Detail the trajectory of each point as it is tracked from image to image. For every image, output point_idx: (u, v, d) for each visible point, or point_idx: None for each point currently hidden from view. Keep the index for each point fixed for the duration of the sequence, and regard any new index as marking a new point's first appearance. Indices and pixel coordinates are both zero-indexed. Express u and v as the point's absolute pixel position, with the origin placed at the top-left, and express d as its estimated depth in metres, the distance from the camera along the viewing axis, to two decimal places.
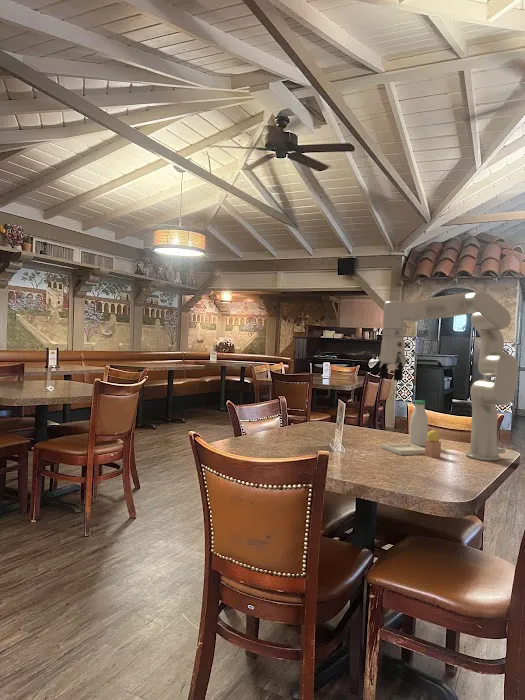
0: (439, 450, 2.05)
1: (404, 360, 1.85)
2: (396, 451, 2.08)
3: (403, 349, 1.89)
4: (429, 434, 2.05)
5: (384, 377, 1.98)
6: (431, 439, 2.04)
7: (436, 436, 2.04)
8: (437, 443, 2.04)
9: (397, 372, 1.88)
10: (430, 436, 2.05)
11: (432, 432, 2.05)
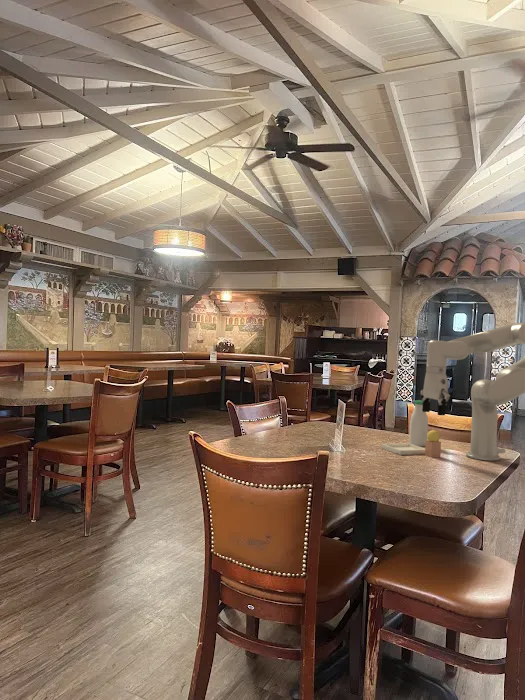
0: (439, 450, 2.05)
1: (448, 397, 1.98)
2: (396, 451, 2.08)
3: (446, 386, 2.02)
4: (429, 434, 2.05)
5: (426, 411, 2.11)
6: (431, 439, 2.04)
7: (436, 436, 2.04)
8: (437, 443, 2.04)
9: (441, 408, 2.01)
10: (430, 436, 2.05)
11: (432, 432, 2.05)
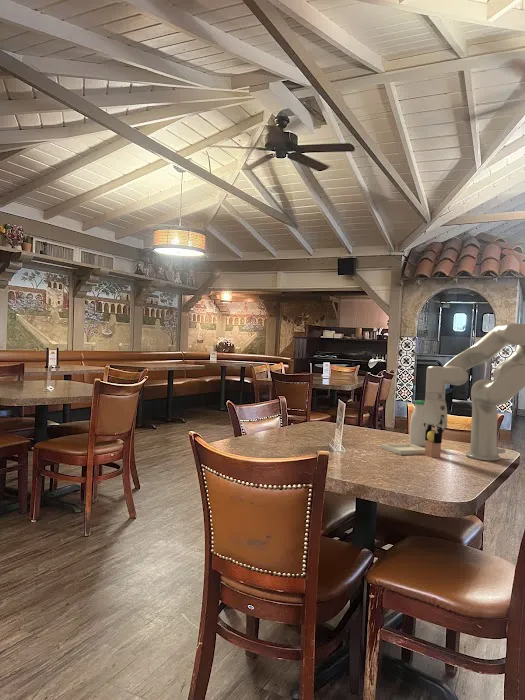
0: (439, 450, 2.05)
1: (445, 427, 2.00)
2: (396, 451, 2.08)
3: (446, 412, 2.02)
4: (429, 434, 2.05)
5: None
6: (431, 439, 2.04)
7: None
8: (437, 443, 2.04)
9: (437, 436, 2.03)
10: (430, 436, 2.05)
11: (432, 432, 2.05)
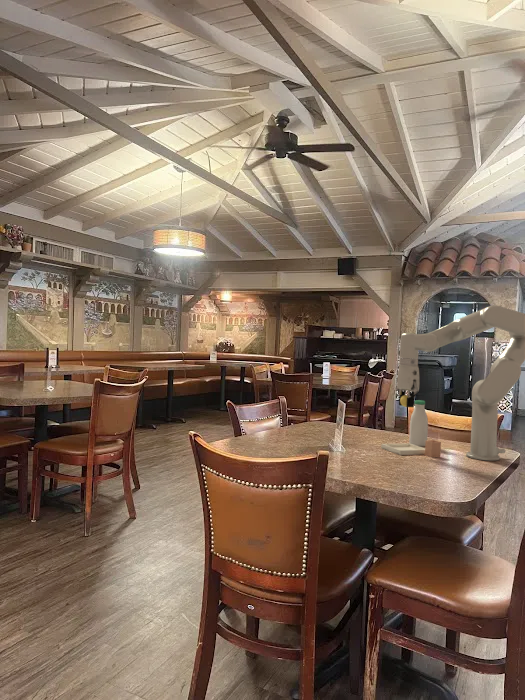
0: (439, 450, 2.05)
1: (416, 391, 2.08)
2: (396, 451, 2.08)
3: (418, 377, 2.10)
4: (402, 398, 2.13)
5: None
6: (404, 403, 2.13)
7: None
8: (437, 443, 2.04)
9: (409, 400, 2.11)
10: (403, 400, 2.13)
11: (405, 396, 2.13)
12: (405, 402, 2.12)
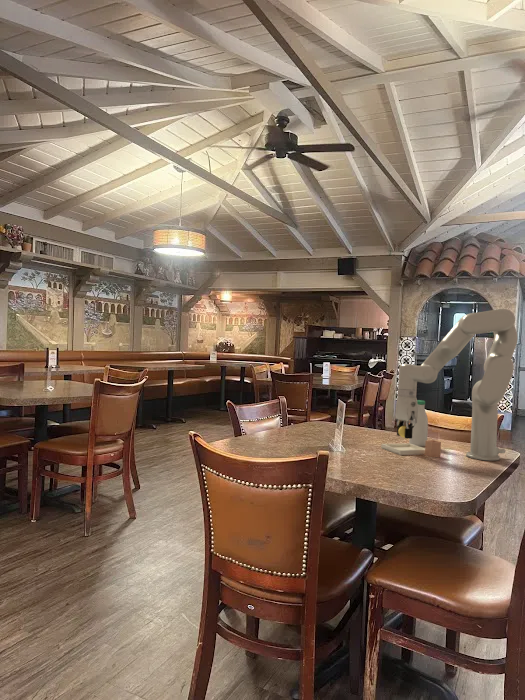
0: (439, 450, 2.05)
1: (415, 423, 2.08)
2: (396, 451, 2.08)
3: (416, 408, 2.10)
4: (400, 429, 2.13)
5: None
6: (402, 434, 2.13)
7: None
8: (437, 443, 2.04)
9: (408, 431, 2.11)
10: (401, 431, 2.13)
11: (403, 427, 2.13)
12: (403, 433, 2.12)
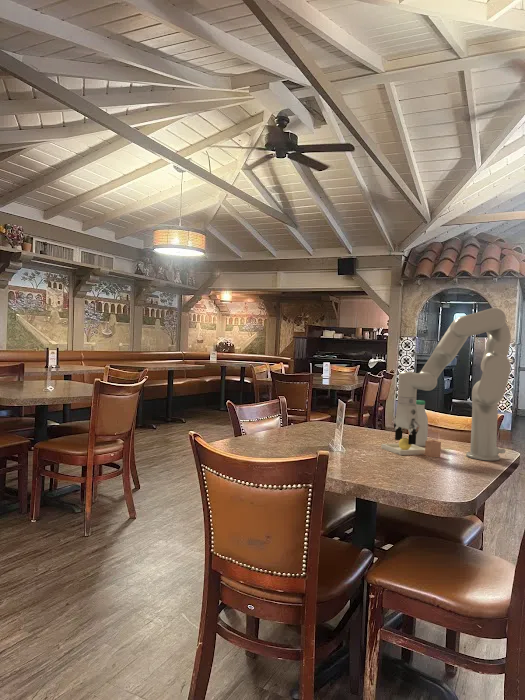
0: (439, 450, 2.05)
1: (418, 427, 2.06)
2: (396, 451, 2.08)
3: (416, 416, 2.10)
4: (400, 442, 2.13)
5: (399, 439, 2.19)
6: (402, 446, 2.13)
7: (407, 444, 2.12)
8: (437, 443, 2.04)
9: (411, 437, 2.09)
10: (401, 444, 2.13)
11: (403, 440, 2.13)
12: (404, 445, 2.12)
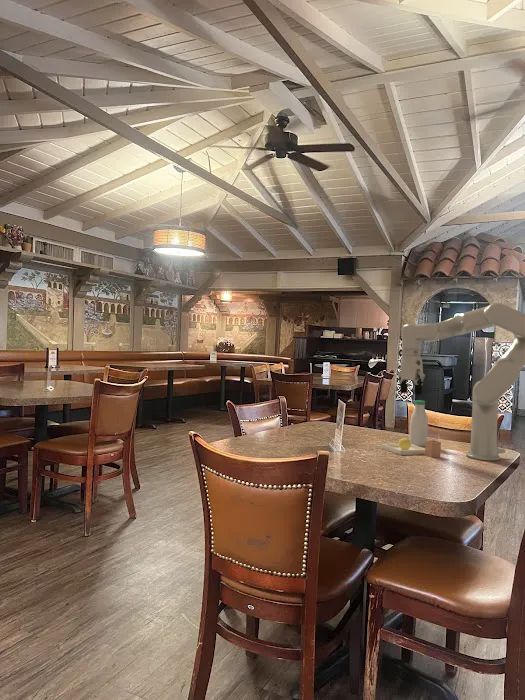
0: (439, 450, 2.05)
1: (423, 377, 2.10)
2: (396, 451, 2.08)
3: (421, 367, 2.14)
4: (400, 442, 2.13)
5: (404, 391, 2.22)
6: (402, 446, 2.13)
7: (406, 444, 2.12)
8: (437, 443, 2.04)
9: (417, 387, 2.12)
10: (401, 444, 2.13)
11: (403, 440, 2.13)
12: (403, 445, 2.12)
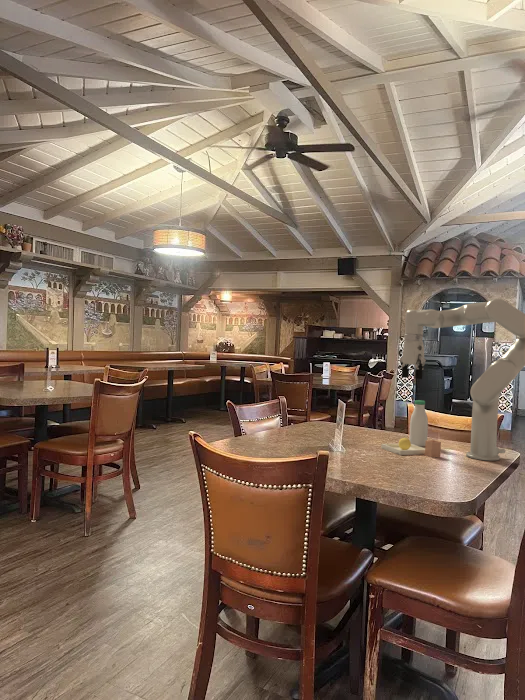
0: (439, 450, 2.05)
1: (424, 361, 2.14)
2: (396, 451, 2.08)
3: (423, 352, 2.18)
4: (400, 442, 2.13)
5: (405, 376, 2.26)
6: (402, 446, 2.13)
7: (406, 444, 2.12)
8: (437, 443, 2.04)
9: (418, 372, 2.16)
10: (401, 444, 2.13)
11: (403, 440, 2.13)
12: (403, 445, 2.12)
